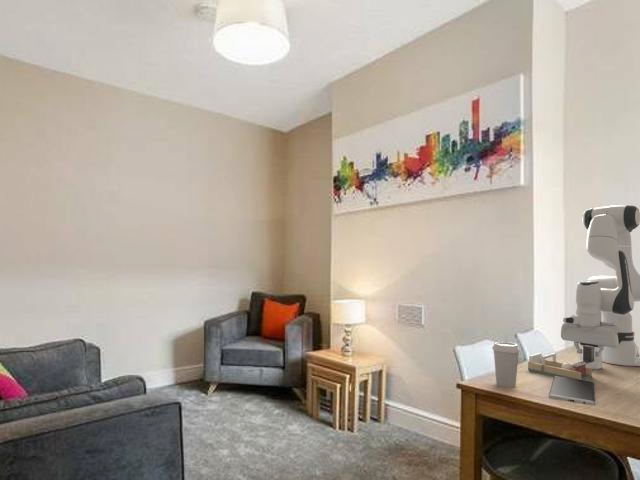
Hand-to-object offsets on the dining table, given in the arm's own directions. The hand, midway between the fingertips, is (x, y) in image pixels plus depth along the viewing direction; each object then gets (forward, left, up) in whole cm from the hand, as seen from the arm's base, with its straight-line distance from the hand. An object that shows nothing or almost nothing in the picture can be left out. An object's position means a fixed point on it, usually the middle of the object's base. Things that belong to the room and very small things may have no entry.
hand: (588, 354), depth 177 cm
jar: (-16, -5, -8) cm, 18 cm away
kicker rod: (+6, 0, -7) cm, 9 cm away
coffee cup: (+40, -13, -8) cm, 43 cm away
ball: (+8, -5, -5) cm, 11 cm away
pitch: (+8, -8, -8) cm, 14 cm away
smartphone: (+27, +5, -9) cm, 29 cm away
